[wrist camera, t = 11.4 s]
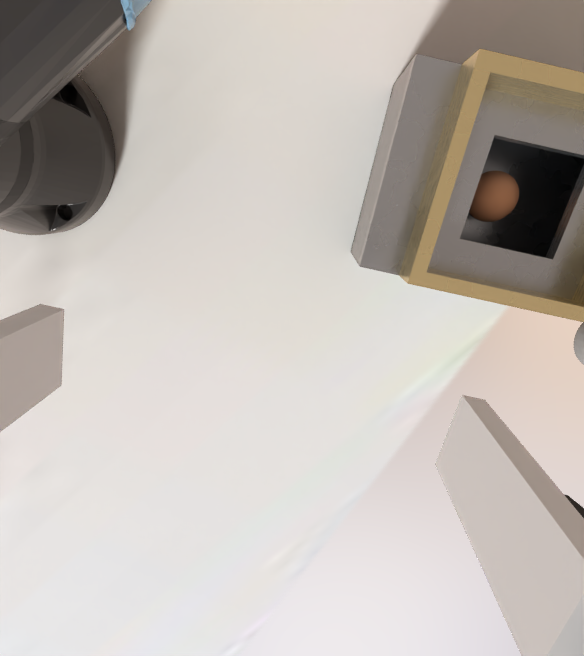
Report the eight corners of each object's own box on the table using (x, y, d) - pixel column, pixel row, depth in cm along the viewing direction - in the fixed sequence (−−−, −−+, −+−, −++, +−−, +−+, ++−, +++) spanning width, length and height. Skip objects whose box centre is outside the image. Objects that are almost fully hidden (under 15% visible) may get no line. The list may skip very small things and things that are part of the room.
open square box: (350, 252, 38) (364, 273, 28) (393, 85, 34) (428, 36, 23) (557, 297, 39) (647, 336, 28) (626, 138, 34) (763, 114, 24)
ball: (453, 215, 36) (463, 216, 32) (468, 168, 35) (481, 163, 31) (499, 226, 36) (515, 227, 32) (516, 178, 35) (535, 174, 31)
